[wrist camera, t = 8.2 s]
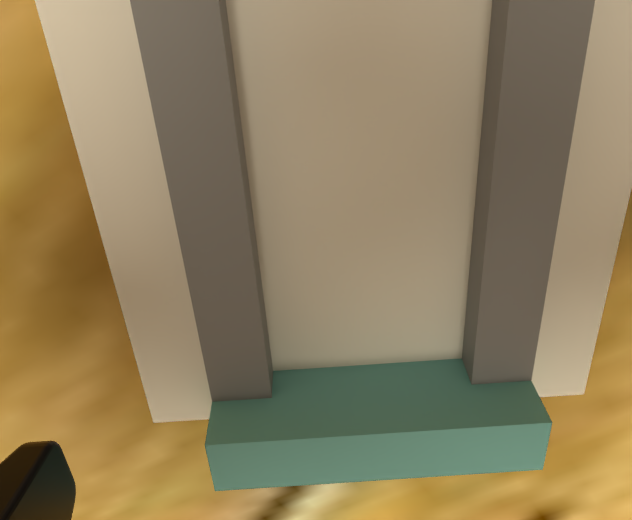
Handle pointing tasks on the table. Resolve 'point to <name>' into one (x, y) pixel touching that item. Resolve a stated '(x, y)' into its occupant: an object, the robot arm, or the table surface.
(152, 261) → the rail board
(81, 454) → the table surface
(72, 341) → the table surface
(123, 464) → the table surface
